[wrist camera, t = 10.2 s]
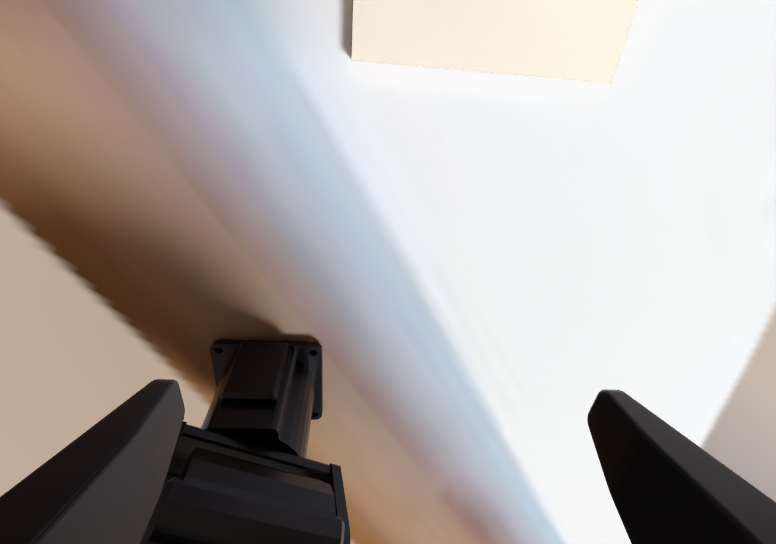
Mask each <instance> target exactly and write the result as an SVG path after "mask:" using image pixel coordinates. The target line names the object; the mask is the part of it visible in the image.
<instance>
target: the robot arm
mask: <svg viewBox="0 0 776 544" xmlns="http://www.w3.org/2000/svg"><path fill="white" fill-rule="evenodd" d="M217 347H220V348H222V349H219V348H217ZM311 350H316V352H313V351H311ZM210 353H211V358H212V363H213V368H214V373H215V378H216V383H217V391H216V393H215V395H214V398H213V400H212V403H211V405H210V408H209V410H208V413H207V415H206V417H205V420H204V422H203V425H202V427H201V428H197V427H194V426H190V425H187V424H186V423H187V422H183V419H184V413H185V409H184V403H183V399H182V396H181V392H180V388H179V384H178V383H177V381H175V380H165V379H164V380H163V379H161V380H160V379H157V380H154V381H152V382H150V383H149V384H148V385H146V386H145V387H144V388H142V389H141V390H140V391H138V392H137V393H136V394H134V395H133V396H132V397H131V398H129V399H128V400H127V401H125V402H124V403H123V404H121V405H120V406H119V407H117V408H116V409H115V410H114V411H112V412H111V413H110V414H108V415H107V416H106V417H104V418H103V419H102V420H101V421H99V422H98V423H97V424H95V425H94V426H93V427H91V428H90V429H89V430H87V431H86V432H85V433H83V434H82V435H81V436H80V437H78V438H77V439H76V440H74V441H73V442H72V443H70V444H69V445H68V446H66V447H65V448H64V449H63V450H61V451H60V452H59V453H57V454H56V455H55V456H53V457H52V458H51V459H50V460H48V461H47V462H46V463H44V464H43V465H42V466H40V467H39V468H38V469H36V470H35V471H34V472H33V473H31V474H30V475H28V476H27V477H26V478H25V479H23V480H22V481H21V482H19V483H18V484H17V485H15V486H14V487H13V488H12V489H10V490H9V491H7V492H6V493H5V494H4V495H2V496H1V497H0V544H350V527H349V521H348V514H347V507H346V501H345V494H344V487H343V481H342V474H341V467H340V466H338V465H334V464H330V465H328V464H324V463H320V462H317V461H313V460H310V459H306V451H307V444H308V437H309V430H310V423H311V420H316V419H319V418H321V417H322V411H323V395H322V346H321V345H320V344H318V343H315V342H288V341H255V340H222V339H219V340H215V341H214V342H213V343H212V345H211V347H210ZM588 426H589V429H590V432H591V435H592V438H593V442H594V445H595V448H596V451H597V454H598V457H599V460H600V463H601V467H602V470H603V473H604V476H605V479H606V482H607V485H608V488H609V491H610V494H611V496H612V499H613V501H614V503H615V506H616V508H617V511H618V513H619V515H620V518H621V520H622V522H623V525H624V527H625V529H626V532H627V534H628V536H629V539H630V541H631V543H632V544H776V502H774V501H773V500H772V499H770V498H769V497H767V496H766V495H765V494H763V493H762V492H760V491H759V490H758V489H756V488H755V487H754V486H752V485H751V484H750V483H748V482H747V481H746V480H744V479H743V478H741V477H740V476H739V475H737V474H736V473H735V472H733V471H732V470H730V469H729V468H728V467H726V466H725V465H724V464H722V463H721V462H719V461H718V460H717V459H715V458H714V457H713V456H711V455H709V454H708V453H707V452H706V451H704V450H703V449H701V448H700V447H699V446H697V445H696V444H695V443H693V442H692V441H690V440H689V439H688V438H686V437H685V436H684V435H682V434H681V433H679V432H678V431H677V430H675V429H674V428H673V427H671V426H670V425H668V424H667V423H666V422H664V421H663V420H662V419H660V418H659V417H657V416H656V415H655V414H653V413H652V412H651V411H649V410H648V409H646V408H645V407H644V406H642V405H641V404H640V403H638V402H637V401H635V400H634V399H633V398H631V397H630V396H629V395H627V394H626V393H624V392H623V391H620V390H602V391H600V392H599V393H598V395H597V397H596V399H595V401H594V403H593V405H592V407H591V409H590V411H589V413H588Z"/></svg>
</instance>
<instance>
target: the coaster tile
mask: <svg viewBox="0 0 776 544" xmlns="http://www.w3.org/2000/svg"><path fill="white" fill-rule="evenodd" d="M638 3H639V0H353V28H352V61H358V62H369V63H381V64H392V65H404V66H415V67H427V68H438V69H450V70H461V71H473V72H484V73H496V74H507V75H519V76H530V77H542V78H553V79H565V80H576V81H588V82H599V83H612V80H613V77H614V74H615V71H616V68H617V65H618V62H619V59H620V56H621V53H622V50H623V47H624V44H625V41H626V38H627V35H628V32H629V29H630V26H631V23H632V20H633V17H634V14H635V11H636V8H637V5H638Z"/></svg>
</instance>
